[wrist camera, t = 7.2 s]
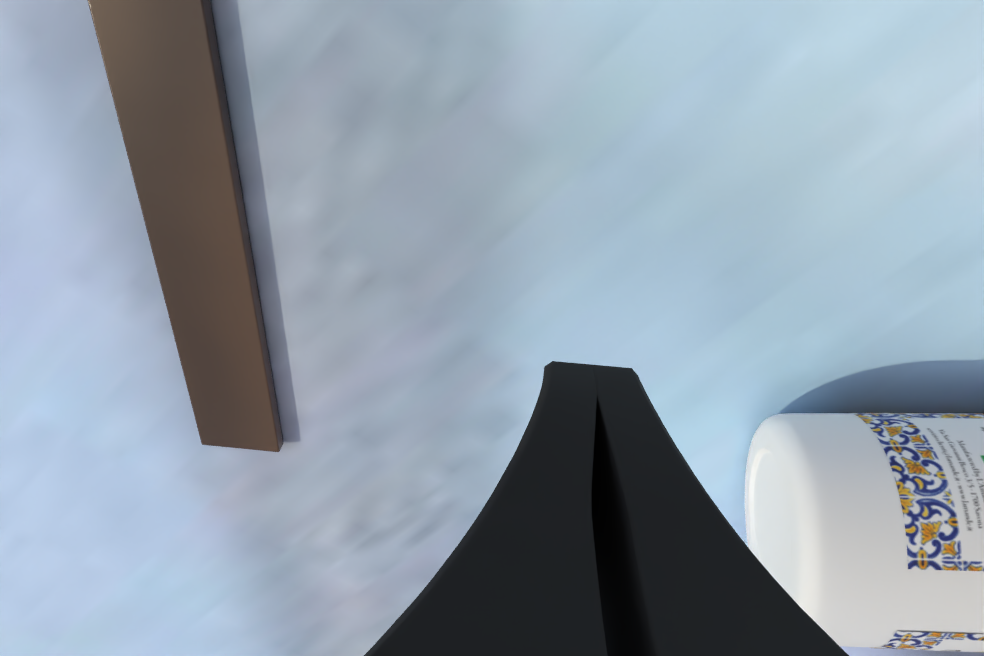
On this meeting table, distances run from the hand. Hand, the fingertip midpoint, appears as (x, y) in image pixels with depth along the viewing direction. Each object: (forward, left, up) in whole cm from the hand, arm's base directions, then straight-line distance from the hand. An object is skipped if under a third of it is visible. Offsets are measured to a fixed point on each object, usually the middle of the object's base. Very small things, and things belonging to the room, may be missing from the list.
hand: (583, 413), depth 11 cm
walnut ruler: (+11, 0, -10) cm, 15 cm away
